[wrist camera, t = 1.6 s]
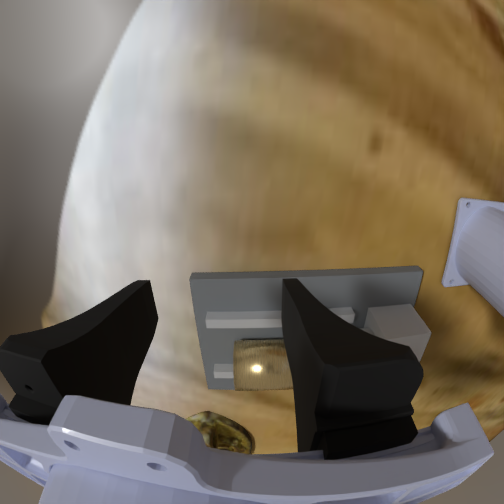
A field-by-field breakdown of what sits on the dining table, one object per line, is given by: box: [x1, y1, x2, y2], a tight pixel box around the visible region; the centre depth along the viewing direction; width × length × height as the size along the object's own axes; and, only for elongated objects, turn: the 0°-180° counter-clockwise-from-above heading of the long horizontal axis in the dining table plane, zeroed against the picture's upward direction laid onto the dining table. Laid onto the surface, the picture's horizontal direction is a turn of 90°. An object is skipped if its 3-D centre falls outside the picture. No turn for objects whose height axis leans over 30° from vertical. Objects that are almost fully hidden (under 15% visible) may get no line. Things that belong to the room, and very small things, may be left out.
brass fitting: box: [233, 339, 293, 391], centre depth 21 cm, size 5×4×4 cm
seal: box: [186, 411, 252, 454], centre depth 30 cm, size 9×5×15 cm
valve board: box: [189, 266, 432, 390], centre depth 21 cm, size 18×12×6 cm, turn 91°
